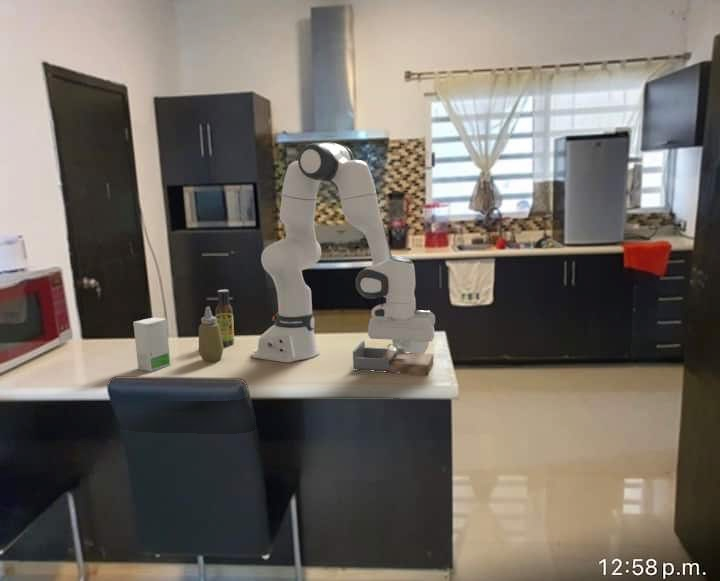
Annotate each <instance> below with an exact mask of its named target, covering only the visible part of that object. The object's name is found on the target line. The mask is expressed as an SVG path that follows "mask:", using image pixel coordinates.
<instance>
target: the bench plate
mask: <svg viewBox="0 0 720 581" xmlns="http://www.w3.org/2000/svg"><path fill="white" fill-rule="evenodd" d="M396 354H397V353H396ZM433 364H434V354H433V353H406V354H397V356H396V357H395V359H394V360H393V362H392V372H400V373H399V374H403V373H410V374H409V375H418V376H419V375H420V376H428V375H429V374H430V372H431V370H432V367H433Z"/></svg>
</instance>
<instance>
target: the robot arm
mask: <svg viewBox="0 0 720 581" xmlns="http://www.w3.org/2000/svg"><path fill="white" fill-rule="evenodd" d="M331 181H332V182H334V184H335V185H336V187H337V189H338V193H339V199H340V204H341V211H342V213H343V216H344V219H345V221H346V222H347V223H348V224H349V225H351V226H352V227H354V228H356V229H357V230H359V231H361V233H362V234H363V235H364V236H365V238H366V242H367V243H368V244H367V245H368V248H369V252H370V255H371V259H372V263H371V265H370V266H368V267H366V268H364V269H362V270H360V272H358V273H357V274H356V275H357V276H356V278H355V288H356V291H358V293H359V294H360V295H361V296H362V298H365V299H378V298H385V300H386V301H385V303H381V304H378V305H376V306H374V307H373V308H372V309H371V312H370V313H371V318H370V319H369V322H368V329H367V332H368V333H367V336H368V337H369V338H370V339H373V340H375V339H376V340H390V341H392V345H394V347H395V348H396V354H406V348H407V346H408V344H409V343H410V341H426V342H429V343H430V342H433V340H434V338H435V324H436V315H435V313H433V312H431V311H430V310H418V309H416V306H417V305H416V304H417V303H416V302H417V301H416V297H415V295H416V294H415V290H416V271H415V265H414V262H413V261H412V259H410V258H408V257H406V256H404V255H403V256H401V255H392V251H391V248H390V243H389V240H388V236H387V231H386V228H385V225H384V222H383V218H382V214H381V211H380V206H379V201H378V195H377V189H376V186H375V182H374V178H373V175H372V172H371V170H370V167H369V165H368V164H367V162H365V161H363V160H359V159H355V156H354V154H353V152H352V150H351V149H350V148H349V147H348V146H346V145H344V144H342V143H335V142H328V141H325V142H313V143H310V144H309V143H308V144H307V145H306V146H304V147H303V148H302V149H301V150H300V152H299V153H298V157H297V160H295V161H292V162H290V163H289V165H288V167H287V169H286V173H285V176H284V181H283V185H282V191H281V200H280V201H281V202H280V208H279V220H280V221H281V223H282V224H283V225H284V231H285V239H282V240H278V241H275V242H273V243H270V244H269V245H268V246H267V247H265V248H264V249H263V251H262V252H261V259H260V261H261V265H262V267H263V269H264V271H265V272H266V273H267V274H269V275H270V276H271V278H272V280H273V283H274V287H275V290H276V294H277V305H278V308H277V309H278V312H277V313H276V314H275V315H273V317H272V318H271V319H272V320H271V321H274V324H273V325H272V326H270V327H269V328H268V329H267V330H266V331H264V333H262V334H261V335H260V337H259V339H258V343H257V347H256V348H255V349H254V350H253V351H252V352H251V358H253V359H261V360H267V361H275V362H280V363H293V362H296V361H303V360H308V359H311V358H315V357H316V356H318V354H319V353H320V351H319V349H318V345H317V342H316V341H317V340H316V336H315V330H314V329H315V317H314V311H313V304H312V290H311V288H310V287H309V285H308V284H306V282H305V279H304V277H303V276H304V275H303V271H304V270H307V269H310V268H311V267H314V265H315V264H317V262H319V261H320V259H321V256H322V247H321V245H320V243H319V242H318V240H317V236H316V231H315V230H316V229H315V218H316V217H315V216H316V209H317V208H316V207H317V200H318V199H317V198H318V190H319V186H320V184H321V183H322V182H331ZM398 340H404V343H405V344H406V345H405V347H399V345H398V343H397V342H398Z"/></svg>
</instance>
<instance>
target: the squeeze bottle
mask: <svg viewBox="0 0 720 581" xmlns="http://www.w3.org/2000/svg"><path fill="white" fill-rule="evenodd" d="M204 310H205V311H204V316H203V317H201V319H200V320H201V324H200V325H199V326H198V353H199V355H200V357H201V360H202V361H203V362H205V363H214V362H218V361H220V360H222V357H223V353H224V347H225V346H223V341H222V336H221V331H220V325H219V324H218V323H216V317H215V316H213V313H212V311H211V308H210V306H206V307H205V309H204Z"/></svg>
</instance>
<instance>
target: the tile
mask: <svg viewBox="0 0 720 581" xmlns="http://www.w3.org/2000/svg"><path fill="white" fill-rule="evenodd" d="M395 353H396V348H395V346H393V344H390V345H389V347H388V350H387V352H386V353H385V355H384V356H383V358H382V359H390V361H391V359H392V358H393V356H394V354H395ZM396 354H397V353H396Z"/></svg>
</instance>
